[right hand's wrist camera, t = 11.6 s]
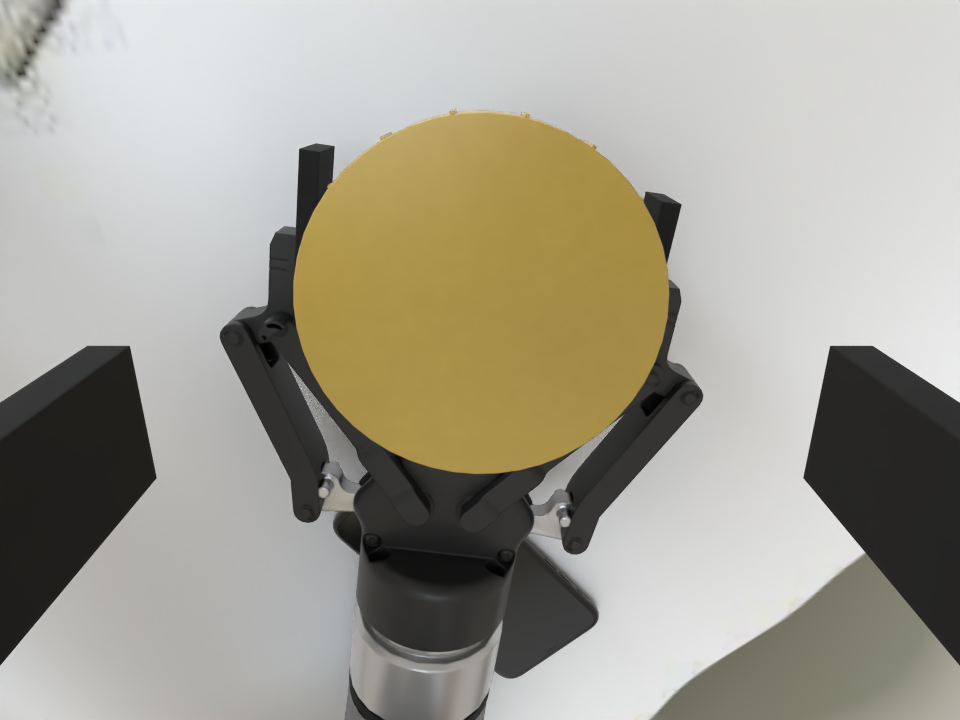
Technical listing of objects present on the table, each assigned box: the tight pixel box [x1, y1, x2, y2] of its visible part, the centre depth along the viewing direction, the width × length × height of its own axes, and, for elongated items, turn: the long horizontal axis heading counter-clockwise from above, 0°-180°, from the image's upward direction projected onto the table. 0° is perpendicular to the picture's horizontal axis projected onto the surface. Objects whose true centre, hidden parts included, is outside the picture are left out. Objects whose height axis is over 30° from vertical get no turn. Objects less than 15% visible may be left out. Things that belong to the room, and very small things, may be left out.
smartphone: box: [333, 511, 599, 679], centre depth 40 cm, size 8×1×16 cm
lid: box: [294, 109, 669, 474], centre depth 19 cm, size 10×10×2 cm
